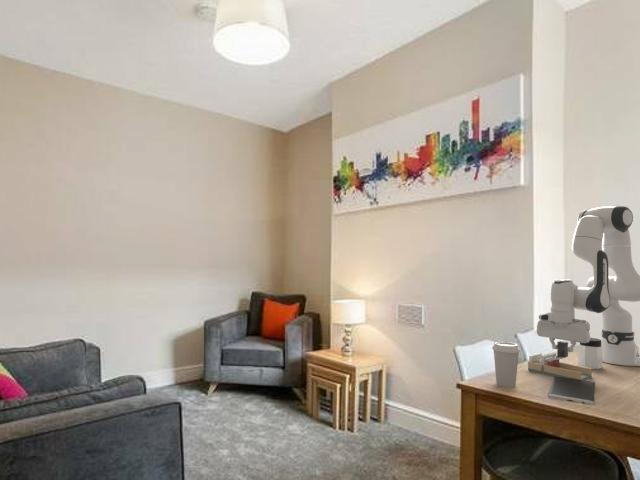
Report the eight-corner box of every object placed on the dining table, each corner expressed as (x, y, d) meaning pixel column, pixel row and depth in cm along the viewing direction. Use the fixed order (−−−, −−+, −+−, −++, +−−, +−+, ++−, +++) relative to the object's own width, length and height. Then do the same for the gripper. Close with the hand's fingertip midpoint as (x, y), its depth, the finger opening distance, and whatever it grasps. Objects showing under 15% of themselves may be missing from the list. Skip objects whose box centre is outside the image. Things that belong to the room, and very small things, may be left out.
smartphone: (547, 399, 148) (547, 394, 148) (554, 379, 171) (554, 375, 171) (593, 407, 141) (593, 402, 141) (595, 385, 163) (595, 381, 163)
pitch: (540, 366, 189) (540, 350, 189) (591, 377, 173) (591, 359, 173) (528, 370, 182) (528, 353, 182) (580, 382, 166) (580, 363, 167)
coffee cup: (524, 385, 161) (524, 344, 162) (514, 390, 155) (514, 347, 155) (498, 379, 168) (498, 340, 168) (487, 384, 161) (487, 343, 162)
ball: (542, 355, 185) (552, 360, 182) (539, 364, 186) (549, 369, 183) (538, 357, 182) (547, 362, 179) (535, 365, 183) (544, 370, 180)
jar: (601, 366, 191) (601, 338, 192) (603, 370, 184) (603, 341, 185) (577, 363, 196) (577, 336, 196) (579, 367, 188) (579, 339, 189)
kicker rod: (560, 365, 186) (560, 341, 187) (567, 366, 184) (567, 342, 184) (544, 370, 177) (544, 345, 177) (551, 372, 175) (551, 346, 175)
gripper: (592, 320, 179) (592, 354, 178) (541, 314, 195) (541, 345, 194) (586, 321, 175) (586, 356, 174) (535, 315, 191) (534, 347, 190)
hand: (562, 350), depth 184 cm, fingers open, 5 cm apart
